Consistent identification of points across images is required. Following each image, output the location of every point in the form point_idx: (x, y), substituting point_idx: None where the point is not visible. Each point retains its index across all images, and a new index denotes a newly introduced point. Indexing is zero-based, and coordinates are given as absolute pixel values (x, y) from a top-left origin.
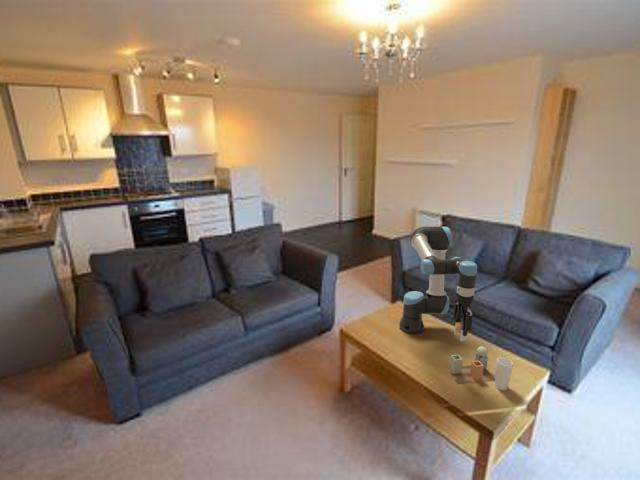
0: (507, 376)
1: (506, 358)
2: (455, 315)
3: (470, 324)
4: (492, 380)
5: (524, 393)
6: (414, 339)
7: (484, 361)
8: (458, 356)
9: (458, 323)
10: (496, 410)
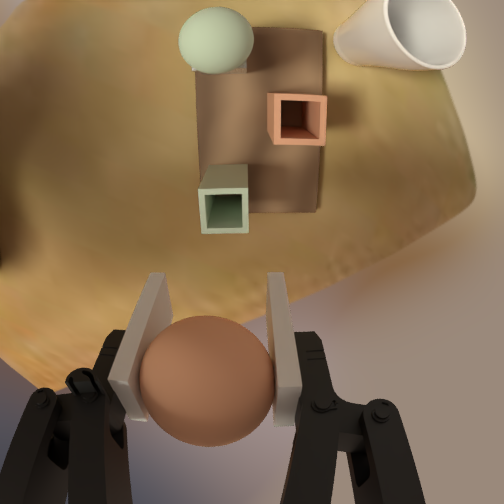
0: (426, 42)
1: None
2: (67, 463)
3: (413, 491)
4: (319, 50)
5: None
6: (24, 252)
7: None
8: (211, 193)
9: (186, 442)
10: (443, 144)
